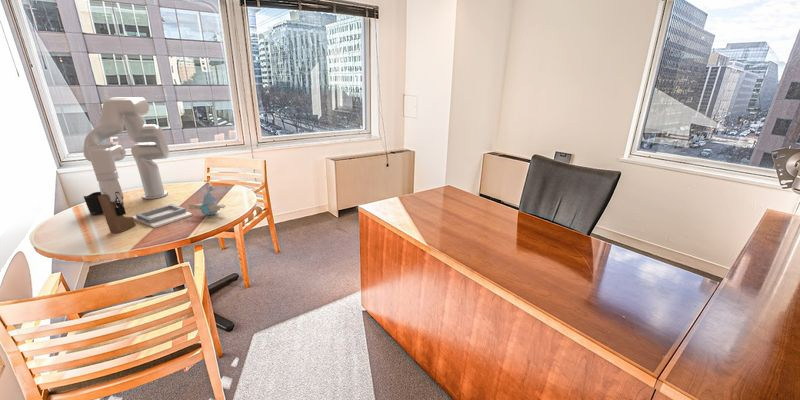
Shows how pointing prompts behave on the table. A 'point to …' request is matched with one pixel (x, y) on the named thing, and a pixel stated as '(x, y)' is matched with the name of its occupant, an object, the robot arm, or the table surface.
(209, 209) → the toy figure
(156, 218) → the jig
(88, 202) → the pen holder
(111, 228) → the wooden block
